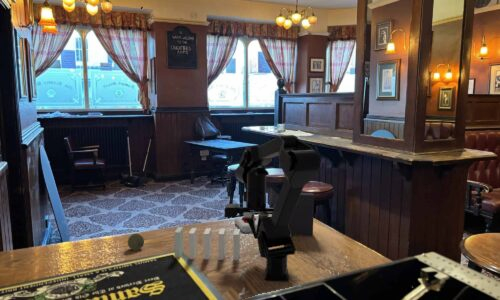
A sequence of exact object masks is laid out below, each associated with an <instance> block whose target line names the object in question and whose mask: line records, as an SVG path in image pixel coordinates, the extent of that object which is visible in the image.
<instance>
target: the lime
mask: <svg viewBox="0 0 500 300" xmlns="http://www.w3.org/2000/svg"><path fill="white" fill-rule="evenodd" d="M144 242H145V239H144V236H142V235H141V234H139V233H133V234H131V235H130V236H129V237H128V240H127V246H128V248H129V249H130V250H132V251H140V249H142V248H143V246H144Z"/></svg>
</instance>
